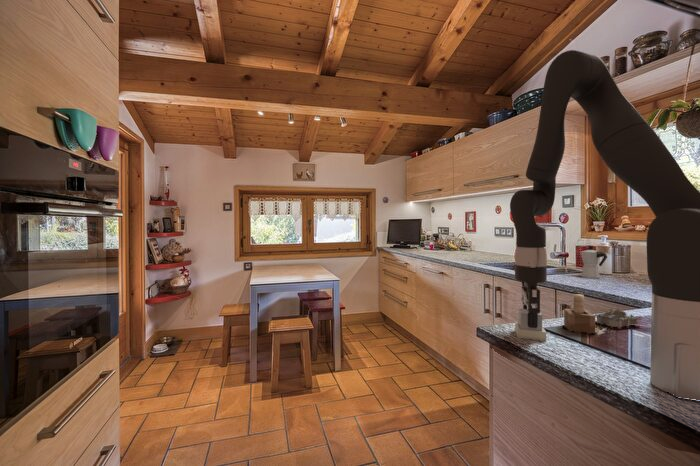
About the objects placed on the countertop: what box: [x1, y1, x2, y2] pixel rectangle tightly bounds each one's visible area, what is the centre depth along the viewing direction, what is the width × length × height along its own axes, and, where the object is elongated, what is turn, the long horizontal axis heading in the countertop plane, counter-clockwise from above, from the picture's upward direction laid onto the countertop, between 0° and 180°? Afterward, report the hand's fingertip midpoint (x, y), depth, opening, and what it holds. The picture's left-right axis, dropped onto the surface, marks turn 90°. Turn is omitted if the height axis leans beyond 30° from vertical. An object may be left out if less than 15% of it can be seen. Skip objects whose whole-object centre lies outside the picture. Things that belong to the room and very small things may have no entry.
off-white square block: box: [517, 308, 543, 331], centre depth 87 cm, size 5×5×6 cm
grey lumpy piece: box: [593, 307, 642, 328], centre depth 97 cm, size 11×8×4 cm
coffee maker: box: [579, 245, 608, 279], centre depth 179 cm, size 15×9×18 cm, turn 17°
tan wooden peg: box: [573, 293, 585, 314], centre depth 92 cm, size 2×2×10 cm
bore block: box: [563, 308, 596, 334], centre depth 92 cm, size 6×6×5 cm
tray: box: [514, 321, 547, 342], centre depth 87 cm, size 7×7×2 cm
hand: (529, 322), depth 87 cm, fingers open, 8 cm apart
